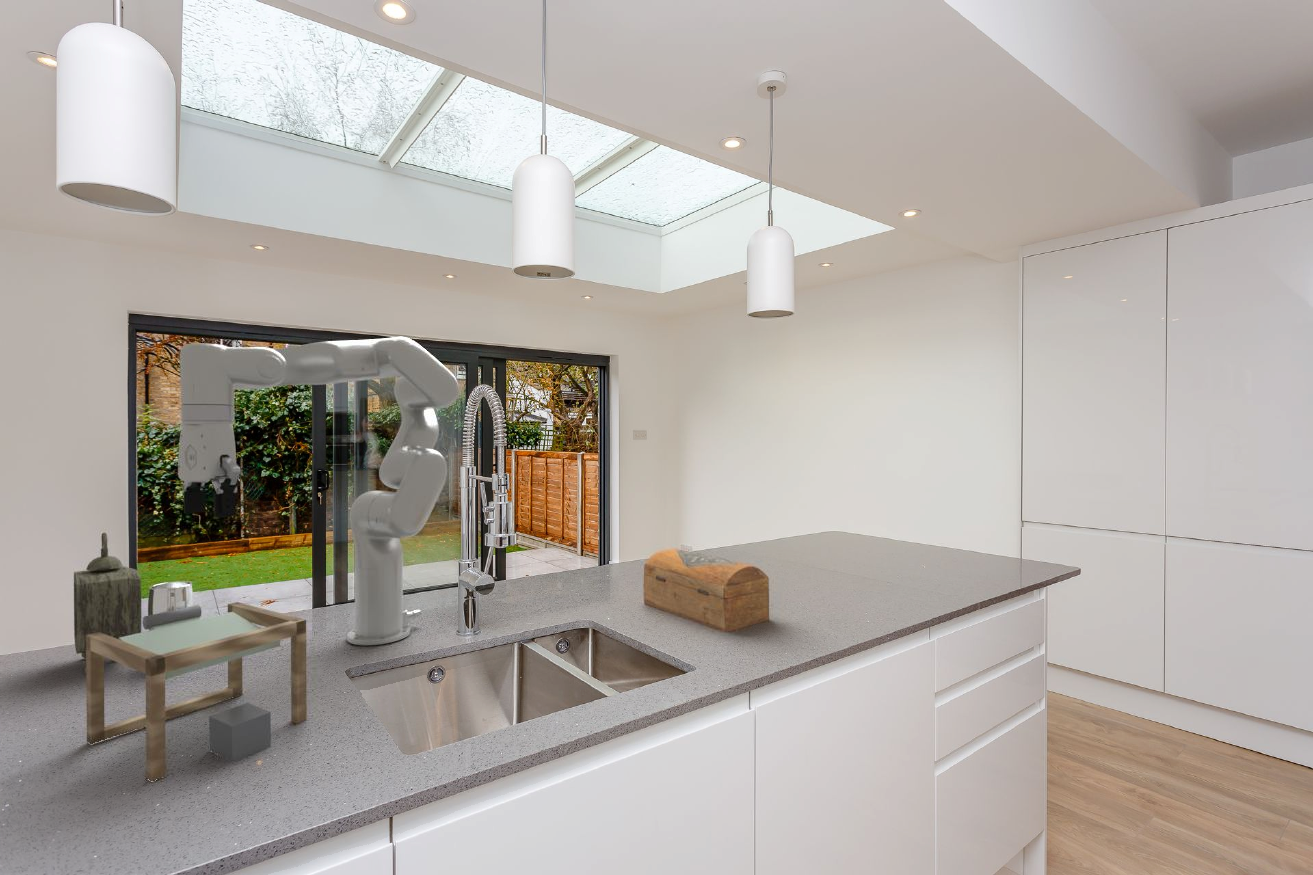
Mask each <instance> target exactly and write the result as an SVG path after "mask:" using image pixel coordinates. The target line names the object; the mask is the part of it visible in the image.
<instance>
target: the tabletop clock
mask: <svg viewBox="0 0 1313 875" xmlns="http://www.w3.org/2000/svg"><path fill="white" fill-rule="evenodd" d="M141 580H142V579H141V576H140V573H139V572H138V570H137V569H135V568H131V567H129V566H128V567H127V566H125V565H123V563H122V561H121V560H120V559H119V558H118V557H116V556H113V555H112V556H111V555H109V548H108V534H107V533H106V532H102V533H101V548H100V556H98V557H96V558H94V559H92V560H91V561H90V562H89V563H88V565H87V566H86V570H79V571H74V572H73V631H74V632H73V634H74V647H75V653H76V655H79V654H81V657H82V659H86V635H88V634H93V633H98V632H100V633H103V634H106V635H108V636H111V637H113V638H116V639H119V638H120V637H124V636H129V635H133V634H137V633H142V581H141ZM83 671H84V672H85V673H86V666H85V667H84V670H83Z"/></svg>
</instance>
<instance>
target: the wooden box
mask: <svg viewBox="0 0 1313 875" xmlns="http://www.w3.org/2000/svg"><path fill="white" fill-rule="evenodd" d="M769 581H770V579H769V577H768V575H767V574H766V573H765V572H764V571H763V570H761V569H760V568H758V567H756V566H754V565H750V564H747V563H743V562H738V561H734V560H730V559H727V558H723V557H719V556H714V555H713V556H712V555H710V554H705V553H699V552H694V551H689V550H688V551H687V550H682V549H679V548H668V549H661V550H659V551H657V552H655V553H653V554H652V555H651V556H650V557H648V558H647V560H646V562H645V564H644V566H643V604H645V605H647V606H649V607H653V608H655V609H659V610H661V611H664V612H667V613H669V614H672V615H674V616H675V615H676V616H678V617H681V618H683V619H687V620H689V621H693V622H695V623H699V624H701V625H704V626H707V627H710V628H712V629H716V630H719V631H720V632H721V631H722V632H725V633H726V632H731V631H734V630H738V629H741V628H746V627H748V626H749V627H750V626H752V625H755V623H756V624H759V622H760V623H762V621H763V622H765V621H766V620H767V621H769V620H770V582H769Z"/></svg>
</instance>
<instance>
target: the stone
mask: <svg viewBox="0 0 1313 875" xmlns="http://www.w3.org/2000/svg"><path fill="white" fill-rule="evenodd" d="M271 720H272V718H271V711H268V710H267V709H265V708H261V707H259V706H256V705H254V704H251V703H249V702H246V703H242V704H240V705H237V706H235V707H232V708H229V709H226V710H224V711H221V712H217V713H214V714H212V715H210V716H209V722H208V723H209V752H210V751H212V752H213V754H214V753H216V754H218V755H220V756H221V758H222V757H223V759H224V758H226V759H227V761H228V760H229V762H230V763H232V762H233V763H234V762H237V761H240V760H242V759H245V758H247V757H249V756H251V755H253V754H254V755H255V754H256V753H259V752H261V751H264V750H266V749H268V748H270V747H271V746H272V744H271V743H272V742H271V740H272V739H271V738H272V734H271V731H272V728H271V725H272V724H271V722H272V721H271ZM212 752H211V753H212ZM216 754H215V755H216ZM218 755H217V756H218ZM220 756H219V757H220ZM226 759H225V760H226Z"/></svg>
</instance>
